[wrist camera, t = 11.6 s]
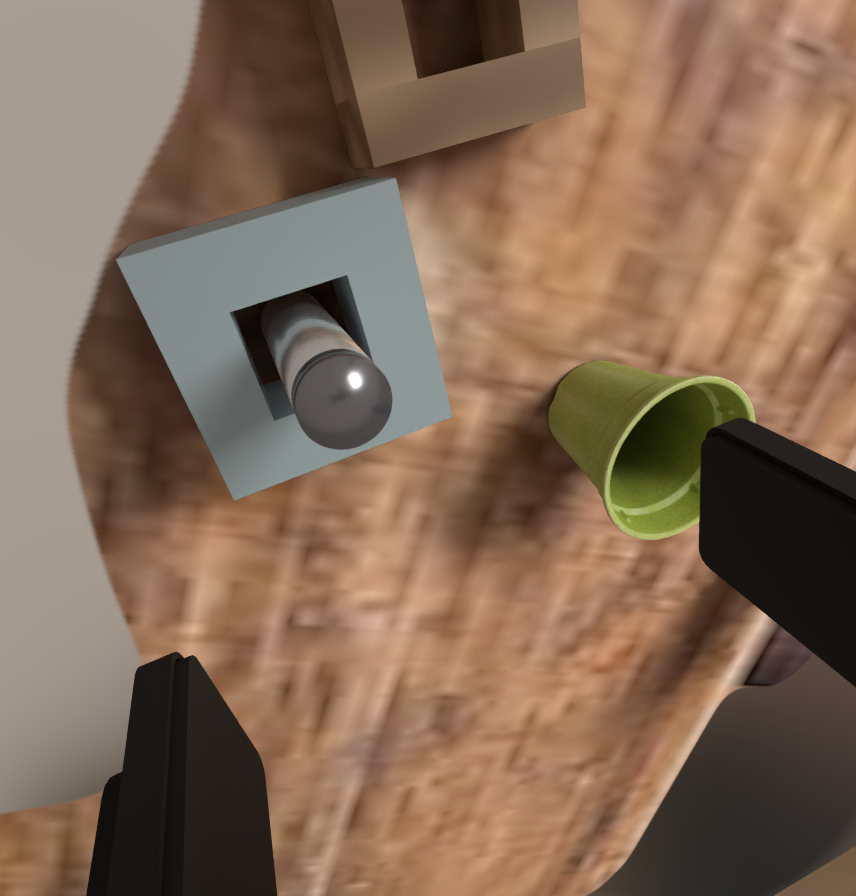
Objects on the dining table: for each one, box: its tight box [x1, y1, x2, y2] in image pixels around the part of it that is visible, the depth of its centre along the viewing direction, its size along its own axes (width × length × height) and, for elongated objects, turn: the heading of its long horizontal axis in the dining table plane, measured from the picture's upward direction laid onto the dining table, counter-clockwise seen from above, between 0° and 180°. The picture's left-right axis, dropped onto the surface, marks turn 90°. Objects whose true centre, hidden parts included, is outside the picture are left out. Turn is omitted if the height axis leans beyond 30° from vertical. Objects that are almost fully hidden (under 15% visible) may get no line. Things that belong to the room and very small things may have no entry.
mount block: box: [307, 0, 586, 168], centre depth 24 cm, size 10×10×4 cm
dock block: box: [116, 177, 452, 501], centre depth 27 cm, size 11×11×5 cm
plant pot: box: [548, 361, 755, 540], centre depth 34 cm, size 9×9×9 cm
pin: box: [261, 291, 393, 450], centre depth 24 cm, size 3×3×12 cm
